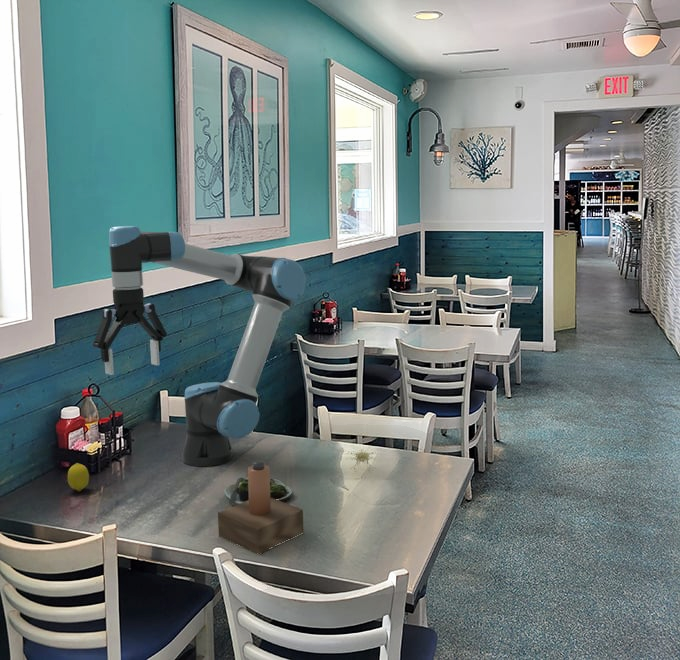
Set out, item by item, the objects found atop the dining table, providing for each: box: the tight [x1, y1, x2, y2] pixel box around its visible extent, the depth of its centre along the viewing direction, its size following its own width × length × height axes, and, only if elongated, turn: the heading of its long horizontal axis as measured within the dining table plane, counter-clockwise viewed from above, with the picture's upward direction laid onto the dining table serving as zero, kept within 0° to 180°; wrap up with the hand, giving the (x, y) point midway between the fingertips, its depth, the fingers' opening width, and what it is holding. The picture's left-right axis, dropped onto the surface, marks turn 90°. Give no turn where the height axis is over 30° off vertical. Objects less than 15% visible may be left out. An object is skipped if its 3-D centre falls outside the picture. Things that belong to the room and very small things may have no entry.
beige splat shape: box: [345, 445, 377, 473], centre depth 217 cm, size 10×13×8 cm
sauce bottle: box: [247, 459, 271, 515], centre depth 176 cm, size 5×5×12 cm
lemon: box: [67, 462, 90, 492], centre depth 206 cm, size 6×6×8 cm
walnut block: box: [217, 497, 304, 555], centre depth 178 cm, size 14×14×6 cm
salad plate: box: [224, 476, 293, 506], centre depth 202 cm, size 19×18×5 cm
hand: (133, 369), depth 196 cm, fingers open, 13 cm apart
